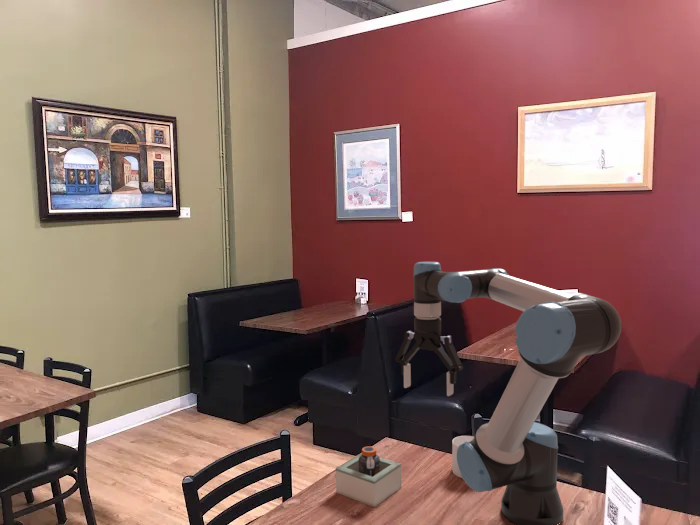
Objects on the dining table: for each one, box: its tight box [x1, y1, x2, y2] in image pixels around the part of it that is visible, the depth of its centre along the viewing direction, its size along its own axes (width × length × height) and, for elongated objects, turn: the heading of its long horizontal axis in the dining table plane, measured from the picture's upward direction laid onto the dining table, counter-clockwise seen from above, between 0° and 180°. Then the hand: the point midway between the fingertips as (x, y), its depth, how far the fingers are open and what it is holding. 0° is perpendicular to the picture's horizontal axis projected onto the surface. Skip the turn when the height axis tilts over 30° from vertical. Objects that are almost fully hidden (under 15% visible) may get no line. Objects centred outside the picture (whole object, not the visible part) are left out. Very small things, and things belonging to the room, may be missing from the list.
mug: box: [451, 435, 474, 479], centre depth 170 cm, size 12×9×9 cm
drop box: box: [335, 452, 402, 508], centre depth 159 cm, size 13×13×7 cm
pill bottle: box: [359, 446, 380, 477], centre depth 159 cm, size 6×6×11 cm
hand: (428, 390), depth 163 cm, fingers open, 13 cm apart
